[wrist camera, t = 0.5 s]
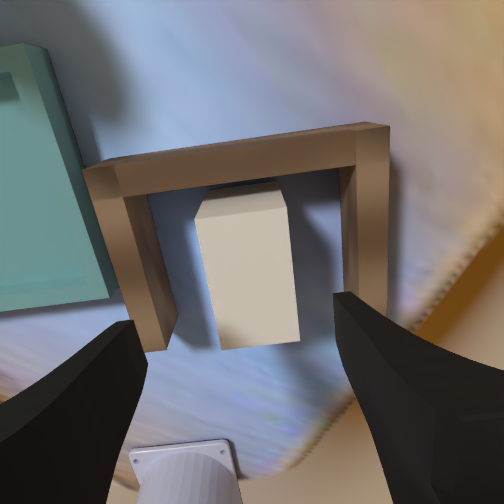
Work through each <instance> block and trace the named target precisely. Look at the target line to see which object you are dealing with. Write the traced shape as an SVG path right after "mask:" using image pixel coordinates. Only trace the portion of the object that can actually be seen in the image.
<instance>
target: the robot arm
mask: <svg viewBox="0 0 504 504" xmlns="http://www.w3.org/2000/svg"><path fill="white" fill-rule="evenodd" d="M333 306H334V321H335V337H336V344H337V347H338V351H339V354H340V358H341V361H342V364H343V367H344V370H345V372H346V374H347V377H348V379H349V381H350V384H351V386H352V388H353V391H354V393H355V395H356V398H357V400H358V402H359V404H360V407H361V409H362V411H363V414H364V416H365V418H366V421H367V423H368V426H369V428H370V431H371V434H372V437H373V439H374V443H375V446H376V449H377V452H378V455H379V458H380V462H381V464H382V468H383V471H384V475H385V478H386V481H387V484H388V488H389V491H390V494H391V497H392V501H393V504H504V371H503V370H500V369H497V368H494V367H490V366H487V365H484V364H482V363H478V362H476V361H473V360H470V359H468V358H465V357H462V356H460V355H457V354H455V353H452V352H450V351H447V350H445V349H443V348H441V347H438V346H436V345H434V344H432V343H430V342H428V341H426V340H424V339H422V338H420V337H418V336H416V335H414V334H413V333H411V332H409V331H407V330H406V329H404V328H402V327H401V326H399V325H397V324H396V323H394V322H393V321H391V320H389V319H388V318H386V317H385V316H383V315H382V314H381V313H379V312H378V311H376V310H375V309H374V308H372V307H371V306H369V305H368V304H367V303H365V302H364V301H363V300H361V299H360V298H359V297H357V296H356V295H355V294H353V293H352V292H351V291H347V292H340V293H333ZM147 367H148V362H147V359H146V356H145V353H144V350H143V347H142V344H141V341H140V338H139V335H138V332H137V329H136V326H135V323H134V320H125V321H118V322H116V323H114V324H113V325H111V326H110V327H108V328H107V329H106V330H104V331H103V332H102V333H101V334H99V335H98V336H97V337H96V338H94V339H93V340H92V341H91V342H89V343H88V344H87V345H86V346H84V347H83V348H82V349H81V350H79V351H78V352H77V353H76V354H74V355H73V356H72V357H70V358H69V359H68V360H66V361H65V362H64V363H62V364H61V365H60V366H58V367H57V368H56V369H54V370H53V371H52V372H50V373H49V374H47V375H46V376H45V377H43V378H42V379H40V380H39V381H37V382H36V383H34V384H33V385H31V386H30V387H28V388H27V389H25V390H23V391H22V392H20V393H19V394H17V395H16V396H14V397H12V398H11V399H9V400H7V401H5V402H3V403H2V404H0V504H106V501H107V497H108V493H109V488H110V485H111V481H112V477H113V474H114V470H115V466H116V462H117V459H118V456H119V453H120V450H121V447H122V445H123V442H124V439H125V437H126V434H127V431H128V429H129V426H130V423H131V421H132V418H133V415H134V413H135V410H136V407H137V404H138V402H139V399H140V396H141V393H142V390H143V386H144V382H145V378H146V372H147ZM129 459H130V462H131V464H132V467H133V469H134V472H135V474H136V477H137V479H138V482H139V484H140V490H139V494H138V497H137V501H136V504H243V502H242V498H241V493H240V489H239V485H238V480H237V476H236V472H235V467H234V463H233V459H232V454H231V450H230V446H229V442H228V441H227V440H223V439H221V440H212V441H202V442H193V443H183V444H174V445H164V446H155V447H145V448H136V449H132V450H131V451H130V453H129Z"/></svg>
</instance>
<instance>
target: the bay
mask: <svg viewBox="0 0 504 504" xmlns="http://www.w3.org/2000/svg"><path fill="white" fill-rule="evenodd" d="M389 152H390V126H388V125H382V124H376V123H370V122H360V123H353V124H346V125H339V126H332V127H325V128H318V129H311V130H304V131H297V132H290V133H284V134H277V135H270V136H263V137H256V138H249V139H242V140H235V141H228V142H221V143H214V144H207V145H200V146H193V147H186V148H179V149H172V150H165V151H158V152H151V153H144V154H137V155H130V156H124V157H117V158H110V159H107V160H105V161H102V162H100V163H97V164H95V165H92V166H90V167H87V168H85V169H83V170H82V172H83V175H84V178H85V181H86V185H87V188H88V191H89V194H90V197H91V200H92V203H93V206H94V209H95V212H96V216H97V219H98V222H99V225H100V228H101V231H102V234H103V237H104V240H105V243H106V247H107V250H108V253H109V256H110V259H111V262H112V265H113V268H114V271H115V274H116V277H117V281H118V284H119V287H120V290H121V293H122V296H123V299H124V302H125V305H126V308H127V312H128V315H129V318H130V320H134V323H135V326H136V329H137V332H138V335H139V338H140V341H141V344H142V347H143V350H144V353H146V352H154V351H163V350H167V347H168V344H169V341H170V338H171V335H172V332H173V329H174V326H175V323H176V320H177V317H178V315H177V311H176V307H175V303H174V299H173V295H172V291H171V288H170V284H169V280H168V276H167V272H166V268H165V264H164V261H163V257H162V253H161V249H160V245H159V241H158V237H157V233H156V230H155V226H154V222H153V218H152V214H151V210H150V206H149V203H148V199H147V195H146V194H150V193H157V192H164V191H171V190H179V189H186V188H193V187H200V186H208V185H215V184H222V183H229V182H236V181H244V180H251V179H258V178H265V177H273V176H280V175H287V174H294V173H301V172H309V171H316V170H323V169H330V168H338V167H339V180H340V206H341V231H342V257H343V283H344V292H347V291H351V292H352V293H353V294H355V295H356V296H357V297H359V298H360V299H361V300H363V301H364V302H365V303H367V304H368V305H369V306H371V307H372V308H374V309H375V310H376V311H378V312H379V313H381V314H382V315H383V316H385V317H386V318H387V275H388V214H389Z"/></svg>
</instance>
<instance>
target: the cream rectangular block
mask: <svg viewBox="0 0 504 504" xmlns="http://www.w3.org/2000/svg"><path fill="white" fill-rule="evenodd" d="M194 221H195V226H196V230H197V235H198V240H199V245H200V249H201V254H202V259H203V264H204V269H205V273H206V278H207V283H208V288H209V292H210V297H211V302H212V307H213V311H214V316H215V321H216V326H217V330H218V335H219V340H220V345H221V349H222V350H227V349H236V348H244V347H253V346H262V345H270V344H279V343H287V342H296V341H300V334H299V324H298V314H297V304H296V294H295V285H294V275H293V265H292V255H291V245H290V235H289V225H288V215H287V207H286V204H285V201H284V198H283V196H282V193H281V190H280V187H279V185H278V182H277V181H273V182H266V183H259V184H251V185H244V186H237V187H229V188H222V189H215V190H208V191H207V193H206V195H205V197H204V200H203V202H202V204H201V206H200V208H199V210H198V213H197V215H196V217H195V219H194Z"/></svg>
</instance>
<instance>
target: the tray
mask: <svg viewBox="0 0 504 504" xmlns="http://www.w3.org/2000/svg"><path fill="white" fill-rule="evenodd" d="M83 169H85V167H84V164H83V161H82V158H81V154H80V151H79V148H78V145H77V142H76V139H75V136H74V132H73V129H72V126H71V123H70V120H69V117H68V114H67V110H66V107H65V104H64V101H63V98H62V95H61V92H60V89H59V85H58V82H57V79H56V76H55V73H54V70H53V67H52V63H51V60H50V57H49V54H48V51H47V49H45V48H41V47H37V46H33V45H29V44H26V43H19V44H12V45H6V46H0V312H1V311H9V310H17V309H25V308H33V307H41V306H49V305H57V304H65V303H73V302H81V301H89V300H97V299H105V298H110V297H111V295H112V294H113V293H114V291H115V290H116V288H117V287H118V285H119V284H118V281H117V277H116V274H115V271H114V268H113V265H112V262H111V259H110V256H109V253H108V250H107V247H106V243H105V240H104V237H103V234H102V231H101V228H100V225H99V222H98V219H97V216H96V212H95V209H94V206H93V203H92V200H91V197H90V194H89V191H88V188H87V185H86V181H85V178H84V175H83V172H82V170H83Z"/></svg>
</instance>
